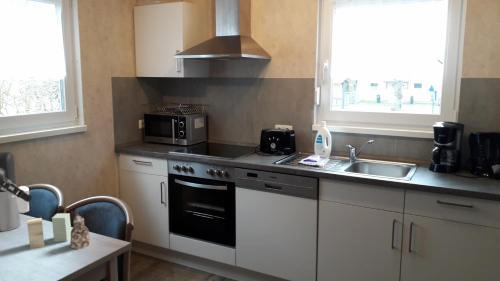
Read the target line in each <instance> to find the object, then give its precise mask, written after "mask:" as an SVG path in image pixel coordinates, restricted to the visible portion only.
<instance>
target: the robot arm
mask: <svg viewBox="0 0 500 281" xmlns="http://www.w3.org/2000/svg"><path fill="white" fill-rule="evenodd" d="M16 180H17V179H16V165H15V156H14V155H13V153H12V152H10V151H6V152H5V151H4V152H3V151H2V152H0V231H1V232H5V231H10V230H15V229H18V228H19V227H21V219H20V218H21V217H20V213H19V211H18V205H17V200H16V196H17V197H19V198H22V199H23V200H25V201H27V202H29V203H30V201H31V200H32V199H33V197H32V196H31V195H30V194H29V195H28V194H26V193H25V192H24V191H23V190H21V189H19V188H18V187H19V186H18V184H16V182H17V181H16ZM18 191H19V193H18V194H16V193H17V192H18ZM15 195H16V196H15Z"/></svg>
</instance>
